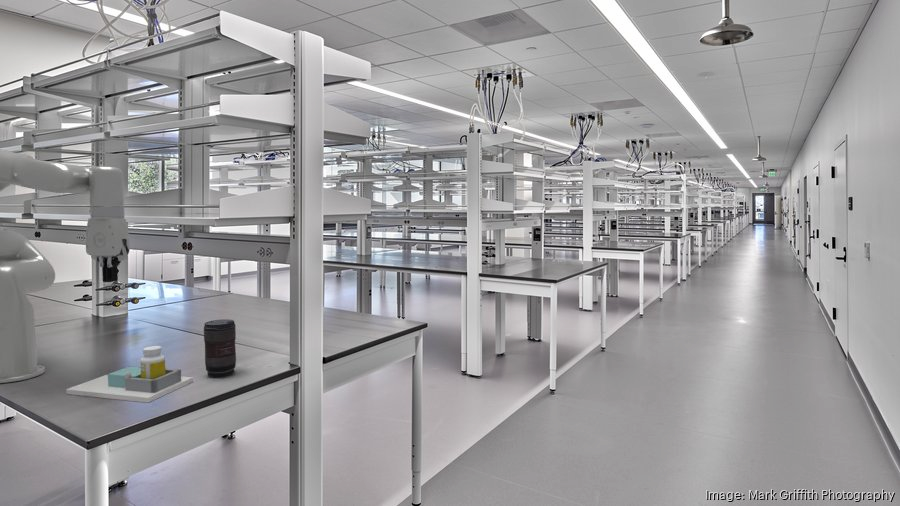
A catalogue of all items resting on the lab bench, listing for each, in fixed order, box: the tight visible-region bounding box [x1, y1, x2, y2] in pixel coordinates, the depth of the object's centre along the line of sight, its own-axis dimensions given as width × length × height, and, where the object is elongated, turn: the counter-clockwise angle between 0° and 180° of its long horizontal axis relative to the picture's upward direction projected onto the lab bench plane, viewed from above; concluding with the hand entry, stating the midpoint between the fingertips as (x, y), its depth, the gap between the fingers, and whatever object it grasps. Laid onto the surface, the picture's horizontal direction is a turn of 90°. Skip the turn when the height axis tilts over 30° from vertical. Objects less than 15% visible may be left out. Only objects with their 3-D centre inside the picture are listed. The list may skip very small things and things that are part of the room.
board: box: [65, 367, 194, 404], centre depth 129 cm, size 24×15×6 cm, turn 78°
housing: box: [108, 366, 141, 387], centre depth 129 cm, size 8×6×3 cm
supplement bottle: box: [139, 345, 166, 379], centre depth 128 cm, size 5×5×10 cm
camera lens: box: [203, 318, 237, 379], centre depth 140 cm, size 8×8×15 cm
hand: (110, 281), depth 135 cm, fingers closed
